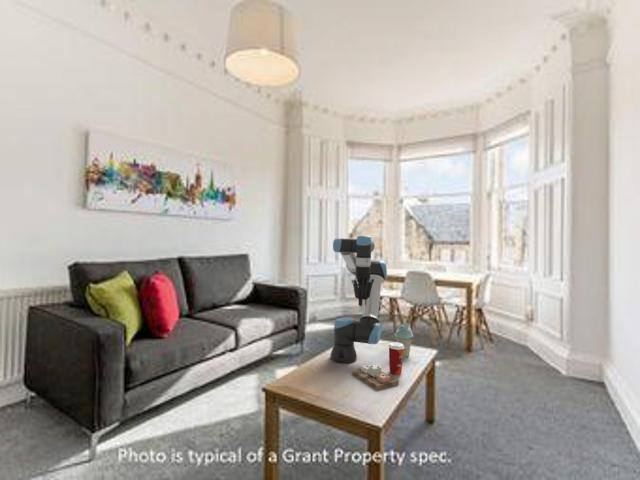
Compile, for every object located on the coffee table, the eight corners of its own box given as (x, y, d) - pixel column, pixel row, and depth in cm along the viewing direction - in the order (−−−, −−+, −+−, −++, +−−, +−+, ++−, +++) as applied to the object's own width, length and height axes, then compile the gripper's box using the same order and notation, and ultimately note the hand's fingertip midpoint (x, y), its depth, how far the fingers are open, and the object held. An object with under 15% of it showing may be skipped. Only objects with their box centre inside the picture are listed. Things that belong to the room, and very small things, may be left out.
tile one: (361, 373, 180) (361, 365, 180) (367, 372, 183) (368, 364, 183) (366, 376, 177) (366, 368, 177) (373, 375, 179) (373, 366, 179)
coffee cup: (403, 376, 179) (404, 347, 178) (387, 374, 180) (388, 345, 180) (403, 370, 187) (404, 342, 187) (387, 368, 189) (388, 341, 188)
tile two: (368, 373, 175) (368, 365, 175) (375, 372, 177) (375, 364, 177) (374, 377, 171) (374, 368, 171) (381, 375, 173) (381, 367, 173)
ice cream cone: (395, 351, 217) (396, 319, 217) (413, 353, 213) (414, 321, 213) (392, 356, 208) (393, 322, 207) (412, 359, 204) (413, 325, 204)
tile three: (376, 382, 170) (376, 374, 170) (383, 381, 172) (383, 372, 172) (382, 386, 166) (382, 377, 166) (389, 384, 168) (389, 375, 168)
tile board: (352, 374, 180) (352, 370, 180) (372, 369, 186) (372, 366, 186) (377, 390, 162) (377, 385, 162) (398, 384, 169) (398, 380, 169)
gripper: (357, 267, 172) (355, 314, 173) (378, 266, 178) (376, 312, 179) (348, 265, 178) (347, 311, 179) (368, 264, 185) (367, 309, 186)
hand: (362, 311), depth 179 cm, fingers closed
